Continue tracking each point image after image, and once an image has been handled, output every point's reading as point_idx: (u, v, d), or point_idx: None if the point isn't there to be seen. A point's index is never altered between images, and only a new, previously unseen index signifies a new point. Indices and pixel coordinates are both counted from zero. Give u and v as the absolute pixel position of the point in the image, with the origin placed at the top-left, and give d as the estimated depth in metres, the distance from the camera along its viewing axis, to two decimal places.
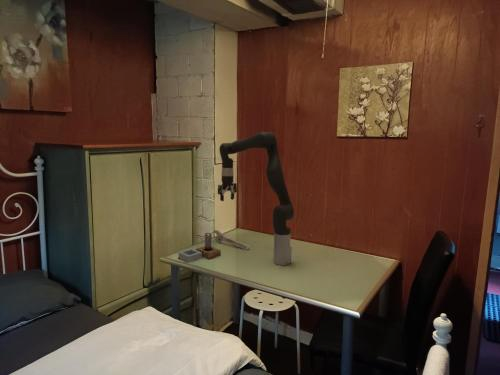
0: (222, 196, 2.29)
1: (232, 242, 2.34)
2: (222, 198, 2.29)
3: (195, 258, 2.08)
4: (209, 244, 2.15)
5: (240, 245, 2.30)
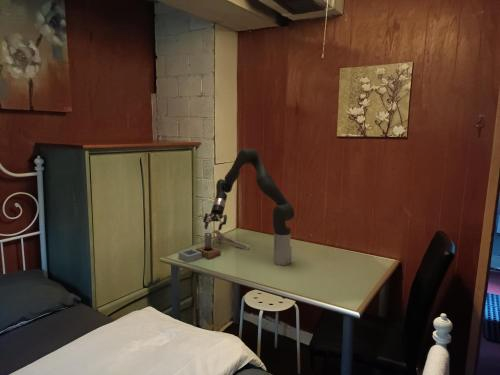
0: (206, 223, 2.25)
1: (232, 242, 2.33)
2: (205, 225, 2.24)
3: (195, 258, 2.08)
4: (209, 244, 2.15)
5: (240, 245, 2.30)
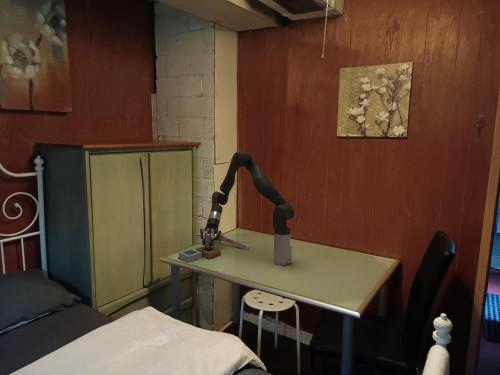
0: (203, 239, 2.16)
1: (232, 243, 2.33)
2: (203, 241, 2.16)
3: (195, 258, 2.08)
4: (209, 244, 2.15)
5: (241, 245, 2.30)
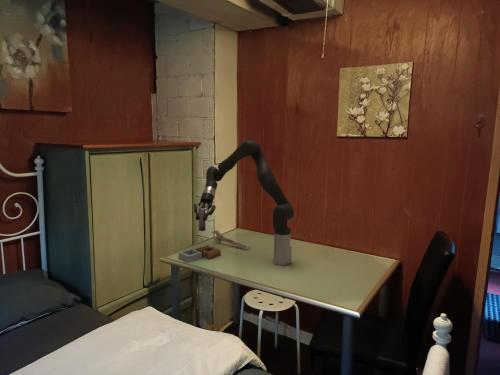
0: (197, 214, 2.13)
1: (232, 243, 2.33)
2: (196, 216, 2.12)
3: (195, 258, 2.08)
4: None
5: (241, 245, 2.30)
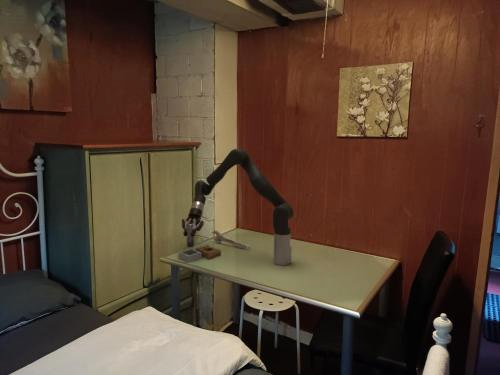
0: (185, 230, 2.09)
1: (232, 243, 2.33)
2: (184, 232, 2.09)
3: (195, 258, 2.08)
4: None
5: (241, 245, 2.30)
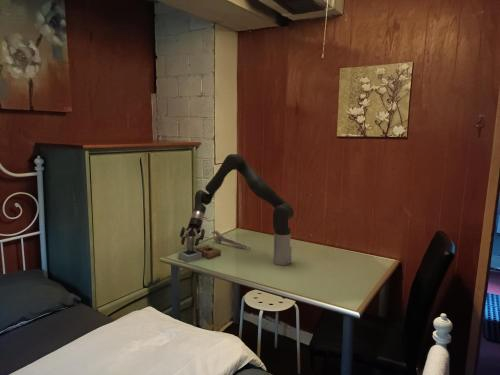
0: (182, 238, 2.11)
1: (233, 243, 2.33)
2: (182, 240, 2.10)
3: (195, 258, 2.08)
4: (191, 247, 2.09)
5: (241, 245, 2.29)
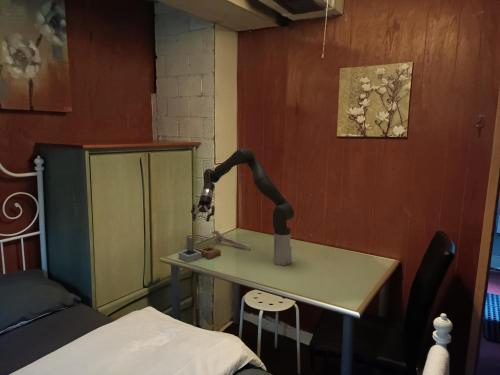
0: (193, 215, 2.24)
1: (233, 243, 2.33)
2: (193, 217, 2.23)
3: (195, 258, 2.08)
4: (191, 247, 2.09)
5: (241, 245, 2.29)
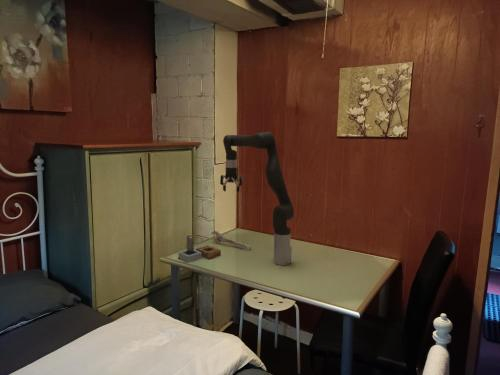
0: (223, 186, 2.36)
1: (233, 243, 2.32)
2: (223, 188, 2.36)
3: (195, 258, 2.08)
4: (191, 247, 2.09)
5: (241, 245, 2.29)
